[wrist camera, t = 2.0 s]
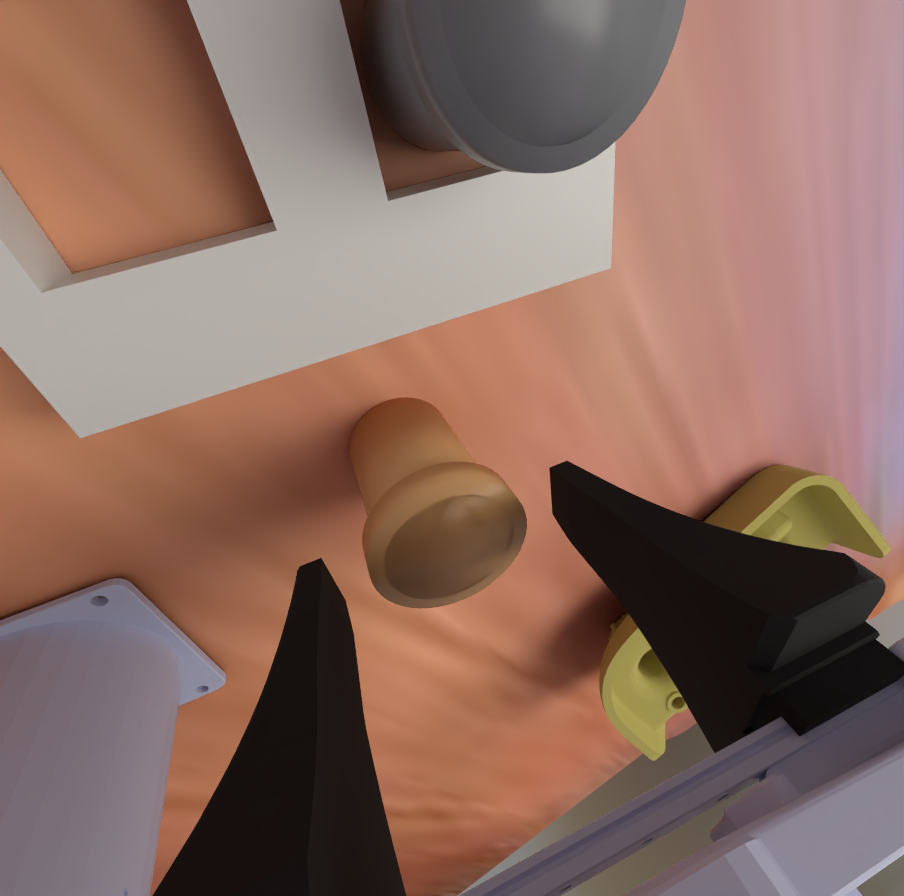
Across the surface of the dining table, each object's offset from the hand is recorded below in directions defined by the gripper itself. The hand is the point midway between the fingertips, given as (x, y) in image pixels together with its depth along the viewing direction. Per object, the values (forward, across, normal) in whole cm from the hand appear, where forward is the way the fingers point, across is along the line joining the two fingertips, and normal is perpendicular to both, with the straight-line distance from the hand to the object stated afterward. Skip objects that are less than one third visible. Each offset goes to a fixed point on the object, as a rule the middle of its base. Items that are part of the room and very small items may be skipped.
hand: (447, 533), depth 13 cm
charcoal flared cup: (+5, -4, -11) cm, 13 cm away
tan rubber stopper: (+5, 0, 0) cm, 5 cm away
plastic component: (+6, -16, +19) cm, 26 cm away
